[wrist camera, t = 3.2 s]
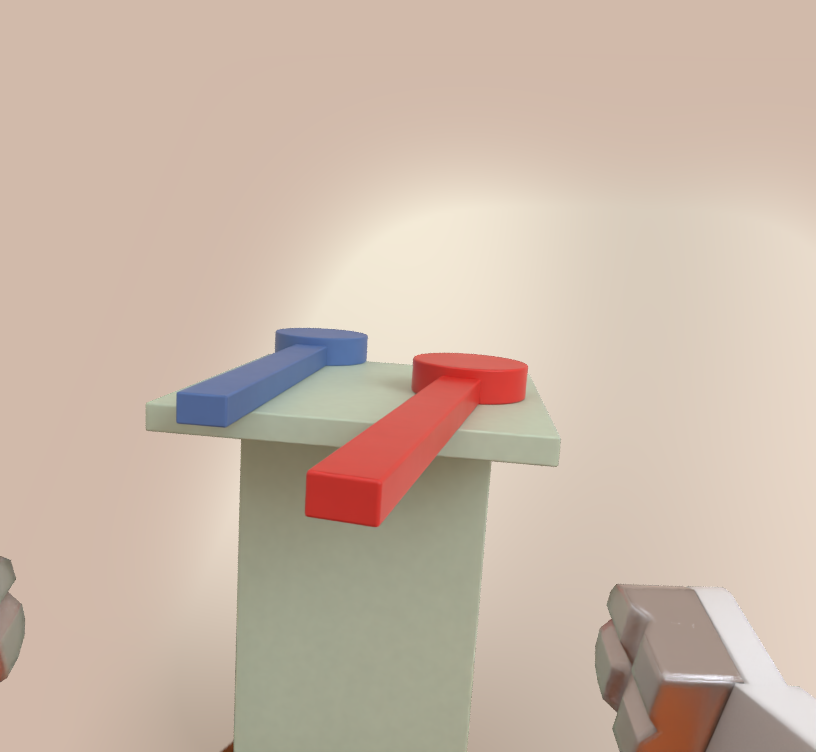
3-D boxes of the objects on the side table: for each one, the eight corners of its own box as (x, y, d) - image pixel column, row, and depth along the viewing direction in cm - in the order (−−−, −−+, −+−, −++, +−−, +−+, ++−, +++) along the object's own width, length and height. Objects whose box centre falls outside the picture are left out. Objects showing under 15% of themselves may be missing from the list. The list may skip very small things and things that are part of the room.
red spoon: (459, 542, 13) (465, 471, 13) (230, 506, 14) (232, 441, 14) (529, 390, 31) (532, 359, 31) (425, 379, 32) (426, 349, 32)
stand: (143, 1060, 28) (144, 402, 23) (255, 797, 41) (268, 353, 37) (492, 1121, 26) (561, 437, 22) (487, 829, 40) (529, 373, 36)
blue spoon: (278, 433, 20) (279, 386, 20) (124, 419, 21) (124, 374, 21) (372, 356, 39) (373, 332, 38) (289, 350, 39) (289, 326, 39)
